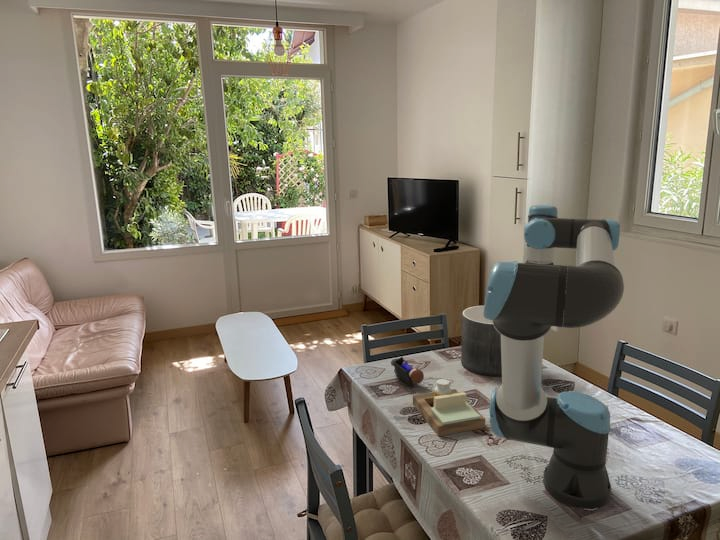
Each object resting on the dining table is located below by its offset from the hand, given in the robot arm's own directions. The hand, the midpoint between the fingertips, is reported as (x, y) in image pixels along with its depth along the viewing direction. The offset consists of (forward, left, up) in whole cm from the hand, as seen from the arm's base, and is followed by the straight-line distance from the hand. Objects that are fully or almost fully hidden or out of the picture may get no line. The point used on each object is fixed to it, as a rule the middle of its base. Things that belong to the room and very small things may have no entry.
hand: (534, 332), depth 148 cm
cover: (+5, +22, -25) cm, 34 cm away
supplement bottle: (+14, +22, -28) cm, 38 cm away
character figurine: (+37, +25, -29) cm, 53 cm away
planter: (+41, -10, -29) cm, 51 cm away
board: (+11, +22, -28) cm, 37 cm away
